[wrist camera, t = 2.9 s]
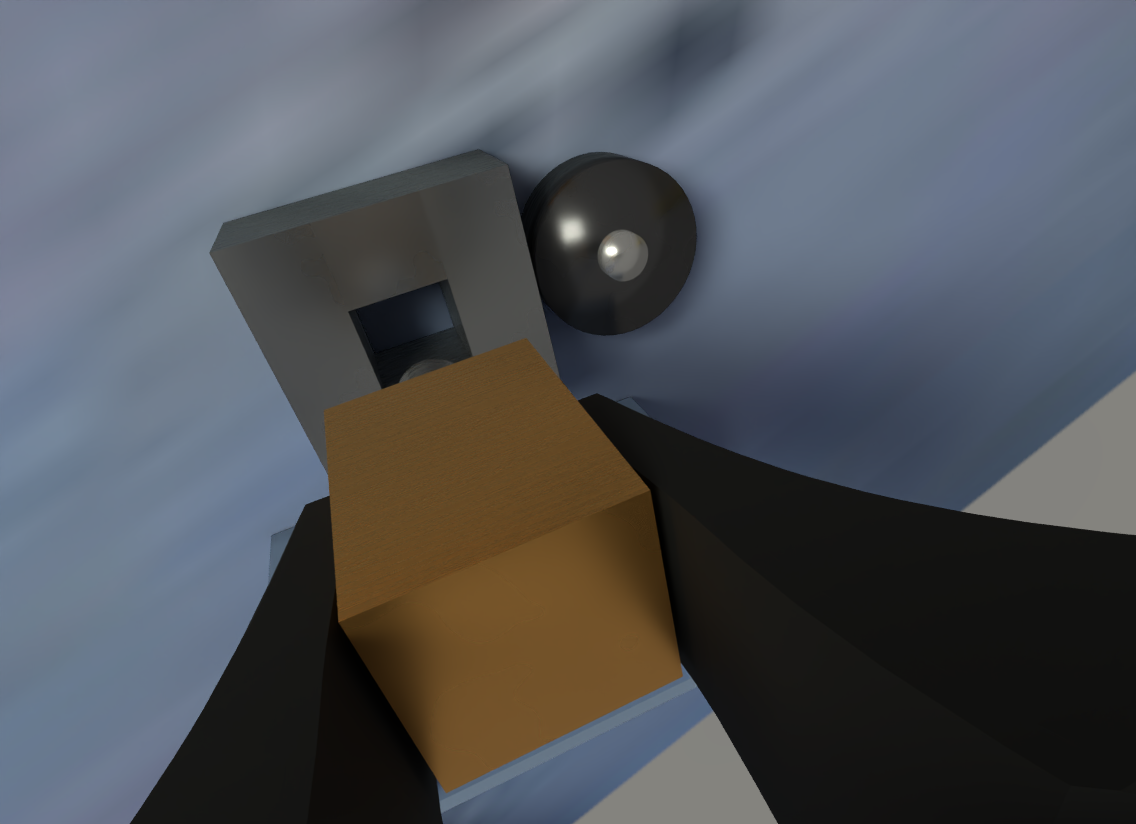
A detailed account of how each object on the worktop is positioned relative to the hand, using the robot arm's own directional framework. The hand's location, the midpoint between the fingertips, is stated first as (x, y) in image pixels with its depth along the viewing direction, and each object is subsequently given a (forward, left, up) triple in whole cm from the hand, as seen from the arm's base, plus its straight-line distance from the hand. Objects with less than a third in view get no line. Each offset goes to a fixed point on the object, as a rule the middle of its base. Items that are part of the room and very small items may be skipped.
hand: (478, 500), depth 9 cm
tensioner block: (+2, 0, -9) cm, 9 cm away
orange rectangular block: (0, 0, -4) cm, 4 cm away
